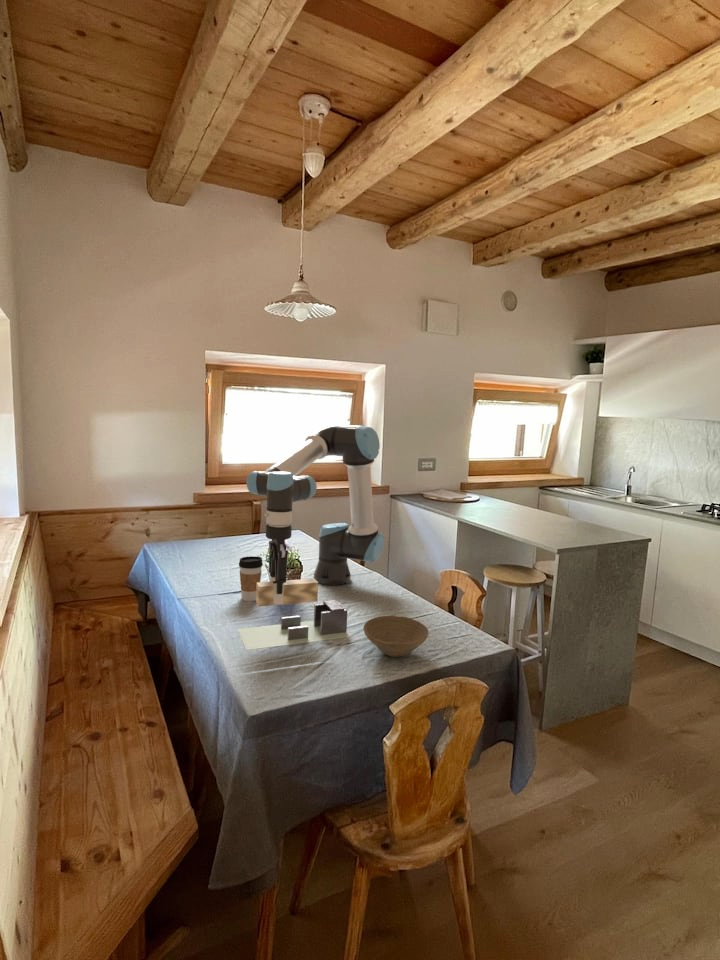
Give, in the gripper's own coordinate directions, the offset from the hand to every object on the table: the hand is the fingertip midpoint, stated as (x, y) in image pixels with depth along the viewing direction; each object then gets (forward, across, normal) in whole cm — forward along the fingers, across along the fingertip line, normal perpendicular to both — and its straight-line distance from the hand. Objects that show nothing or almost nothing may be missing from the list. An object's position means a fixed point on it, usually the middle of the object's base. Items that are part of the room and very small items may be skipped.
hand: (276, 600), depth 159 cm
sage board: (+11, 0, +6) cm, 13 cm away
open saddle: (+11, 0, +6) cm, 12 cm away
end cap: (+11, 0, +17) cm, 20 cm away
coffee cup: (+11, -34, -1) cm, 36 cm away
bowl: (+11, +21, +30) cm, 38 cm away
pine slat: (+1, 0, +3) cm, 3 cm away
